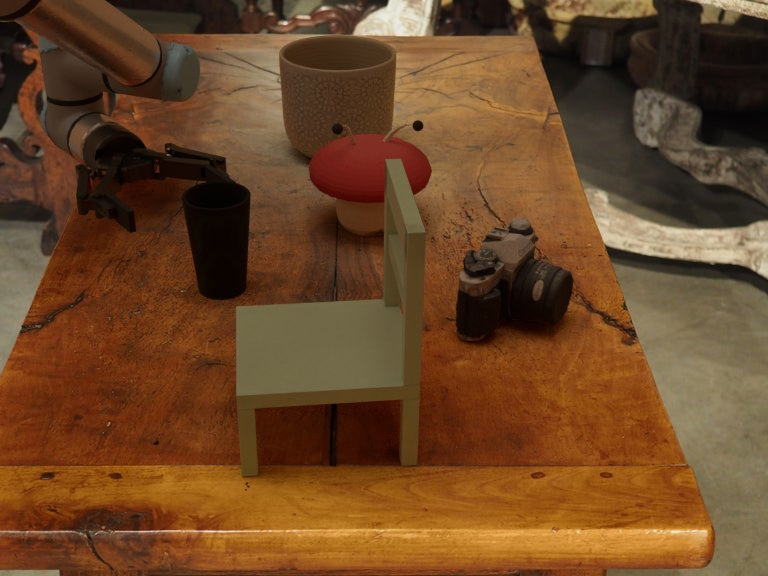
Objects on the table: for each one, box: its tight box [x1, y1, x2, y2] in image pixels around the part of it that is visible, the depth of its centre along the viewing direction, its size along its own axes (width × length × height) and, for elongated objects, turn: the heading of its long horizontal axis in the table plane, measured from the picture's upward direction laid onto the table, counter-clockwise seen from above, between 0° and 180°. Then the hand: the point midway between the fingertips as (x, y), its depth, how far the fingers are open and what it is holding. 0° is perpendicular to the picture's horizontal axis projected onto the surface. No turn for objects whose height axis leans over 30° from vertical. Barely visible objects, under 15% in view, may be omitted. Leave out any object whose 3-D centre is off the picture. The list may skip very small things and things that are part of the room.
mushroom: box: [308, 119, 433, 237], centre depth 137 cm, size 16×16×15 cm
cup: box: [181, 181, 252, 301], centre depth 123 cm, size 8×8×12 cm
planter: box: [278, 34, 397, 159], centre depth 158 cm, size 17×17×15 cm
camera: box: [455, 217, 574, 342], centre depth 118 cm, size 16×10×10 cm, turn 150°
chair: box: [235, 159, 427, 478], centre depth 98 cm, size 16×15×24 cm
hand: (184, 207), depth 128 cm, fingers open, 13 cm apart
